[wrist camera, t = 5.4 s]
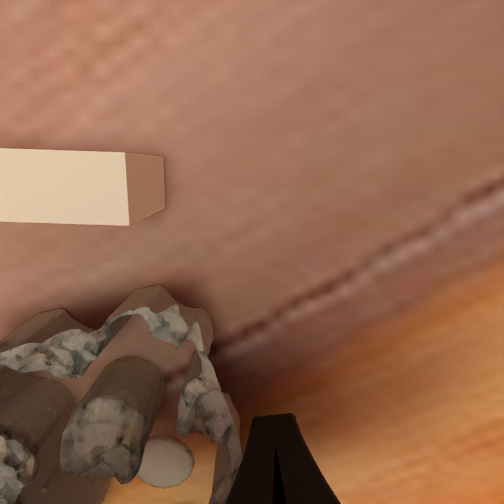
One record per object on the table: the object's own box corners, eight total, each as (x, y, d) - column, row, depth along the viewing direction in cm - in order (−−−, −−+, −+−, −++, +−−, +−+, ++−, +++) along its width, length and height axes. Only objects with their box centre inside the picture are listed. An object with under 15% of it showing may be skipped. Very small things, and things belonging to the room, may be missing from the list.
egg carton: (273, 513, 13) (281, 661, 9) (95, 539, 14) (32, 691, 10) (215, 266, 11) (194, 328, 7) (-4, 307, 11) (-148, 388, 7)
